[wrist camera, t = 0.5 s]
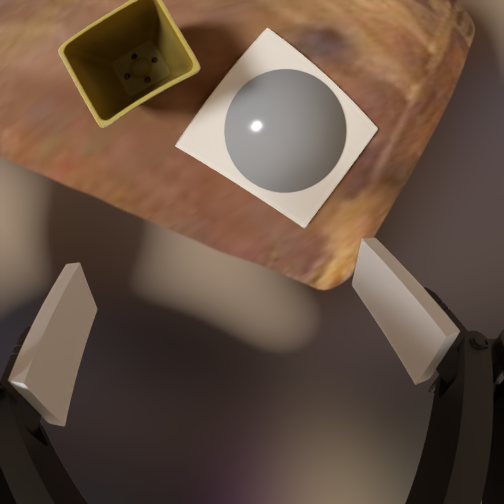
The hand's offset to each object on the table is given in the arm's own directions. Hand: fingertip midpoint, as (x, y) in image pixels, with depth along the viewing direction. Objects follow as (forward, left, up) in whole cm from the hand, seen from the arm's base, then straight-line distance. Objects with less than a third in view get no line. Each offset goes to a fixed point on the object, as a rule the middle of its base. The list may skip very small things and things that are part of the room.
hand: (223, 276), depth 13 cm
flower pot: (-7, -12, -21) cm, 25 cm away
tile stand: (-10, +5, -20) cm, 23 cm away
